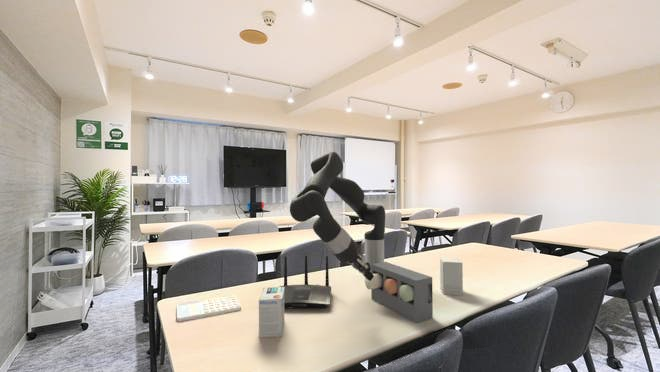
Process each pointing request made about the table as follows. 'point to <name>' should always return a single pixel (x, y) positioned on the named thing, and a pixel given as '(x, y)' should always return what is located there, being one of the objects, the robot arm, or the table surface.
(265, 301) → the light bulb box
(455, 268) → the supplement box
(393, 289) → the terracotta button
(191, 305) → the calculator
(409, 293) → the sage button
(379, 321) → the table surface
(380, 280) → the cream button
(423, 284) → the button panel
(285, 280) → the router
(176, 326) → the table surface
